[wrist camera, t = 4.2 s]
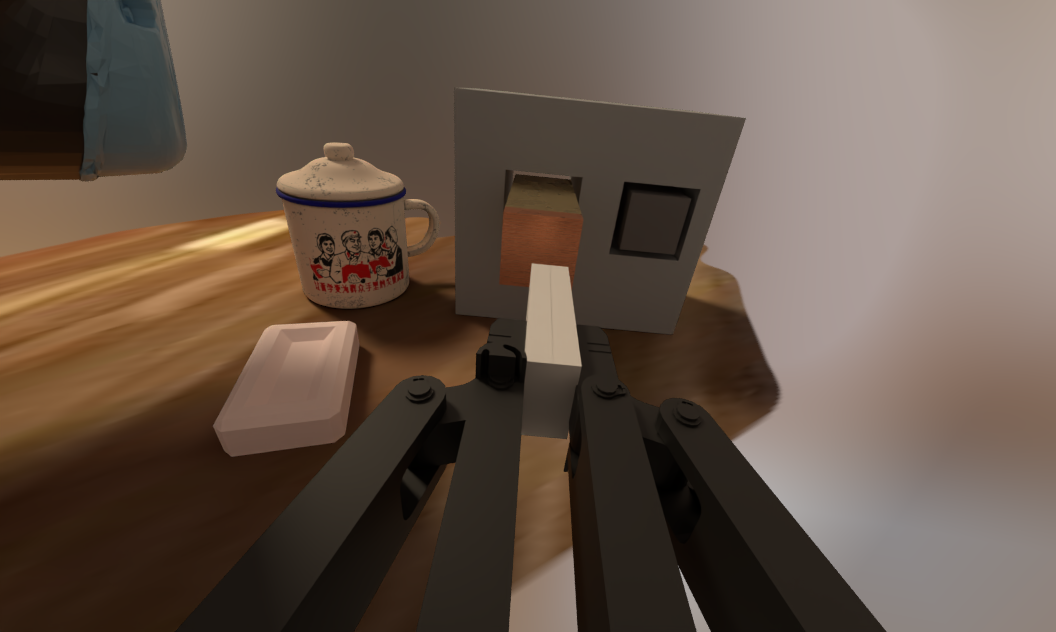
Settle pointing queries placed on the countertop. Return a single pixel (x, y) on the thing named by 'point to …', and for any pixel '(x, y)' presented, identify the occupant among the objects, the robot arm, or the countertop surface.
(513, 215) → the plunger
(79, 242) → the countertop surface
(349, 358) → the soap bar
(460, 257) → the panel
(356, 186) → the teacup with lid
